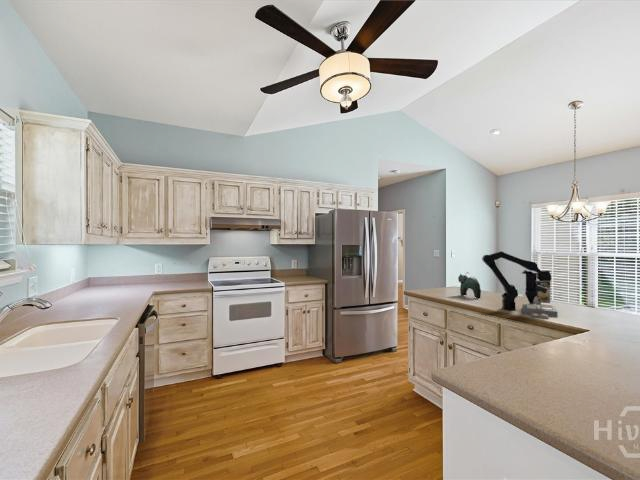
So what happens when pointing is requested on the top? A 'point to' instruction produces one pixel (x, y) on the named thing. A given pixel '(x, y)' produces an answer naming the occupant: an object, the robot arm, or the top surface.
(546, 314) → the pattern card
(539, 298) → the coffee box
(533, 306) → the button front left
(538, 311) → the control panel
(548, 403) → the top surface
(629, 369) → the top surface
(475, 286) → the ceramic cat
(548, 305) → the button back right
